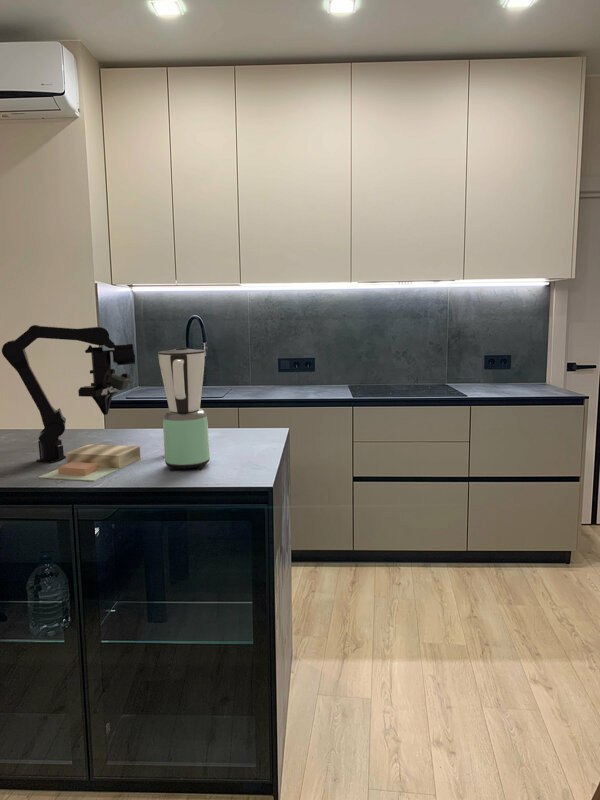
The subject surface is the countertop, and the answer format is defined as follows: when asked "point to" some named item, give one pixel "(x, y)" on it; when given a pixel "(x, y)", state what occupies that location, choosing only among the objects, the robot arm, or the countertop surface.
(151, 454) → the countertop surface
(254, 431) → the countertop surface
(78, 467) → the tile
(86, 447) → the tan wooden flat block
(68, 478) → the mat
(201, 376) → the mint green blender
